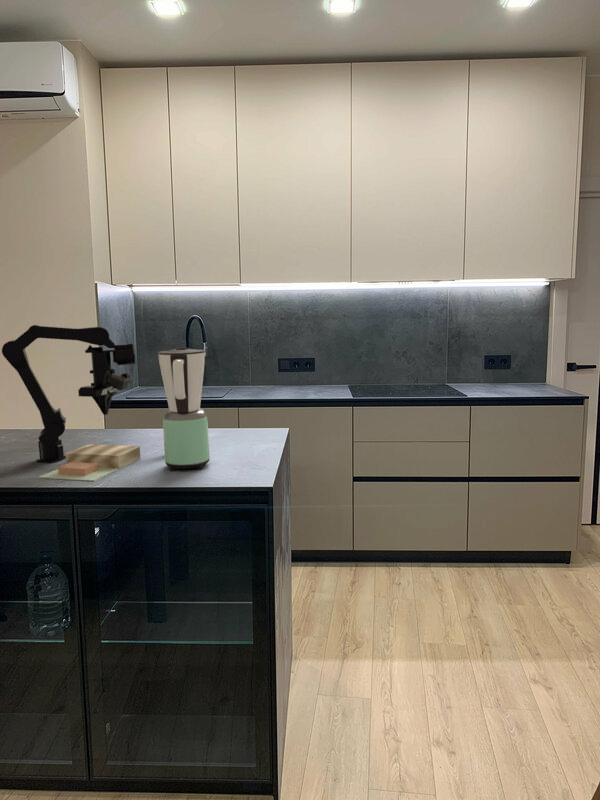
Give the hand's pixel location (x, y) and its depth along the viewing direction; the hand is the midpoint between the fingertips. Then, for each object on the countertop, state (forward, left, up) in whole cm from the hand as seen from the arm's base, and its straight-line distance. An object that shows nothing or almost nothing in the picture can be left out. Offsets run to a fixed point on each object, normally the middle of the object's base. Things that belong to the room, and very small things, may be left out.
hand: (105, 414), depth 194 cm
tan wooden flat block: (+5, -10, -13) cm, 17 cm away
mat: (+5, -23, -13) cm, 26 cm away
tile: (+4, -22, -11) cm, 25 cm away
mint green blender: (+33, -10, -13) cm, 37 cm away
